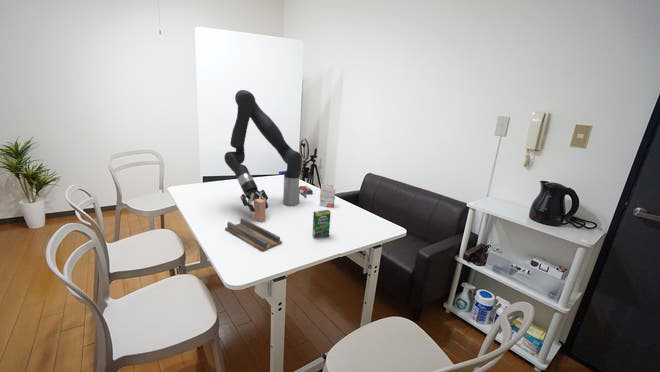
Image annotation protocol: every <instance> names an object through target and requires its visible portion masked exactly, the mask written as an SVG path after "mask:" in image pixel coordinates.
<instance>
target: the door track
mask: <svg viewBox="0 0 660 372" xmlns="http://www.w3.org/2000/svg"><path fill="white" fill-rule="evenodd" d="M239 221H240V223H237V224H235V223H233V222H231V221H228V222H227V223H226V224H227V225H226V226H227V227H225V228H224V230H225V231H226V232H228V233H229V234H230V235H231V234H232V235H233V236H235V237H236V238H238V239H240V240H242V241H244V243H247V244H248V245H251V246H252V247H254V248H255V249H256V250H258V251H260V252H265V251H267V250H269V249H272V248H275V247H277V246H279V245H281V244H283V241H282V240H281V237H280V236H279V235H276V234H275V233H272V232H271V231H269V230H267V229H265V228H263V227H261V226H259V225H257V224H255V223H253V222H251V221H249V220H247V219H245V218H243V217H241V218H240V219H239Z"/></svg>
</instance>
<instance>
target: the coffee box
mask: <svg viewBox="0 0 660 372" xmlns="http://www.w3.org/2000/svg"><path fill="white" fill-rule="evenodd" d="M312 217H313V218H312V237H313V238H314V239H319V238H323V237H324V238H325V237H329V236H330V228H331V227H330V225H331V210H329V209H324V210H315V211H313V215H312Z"/></svg>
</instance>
